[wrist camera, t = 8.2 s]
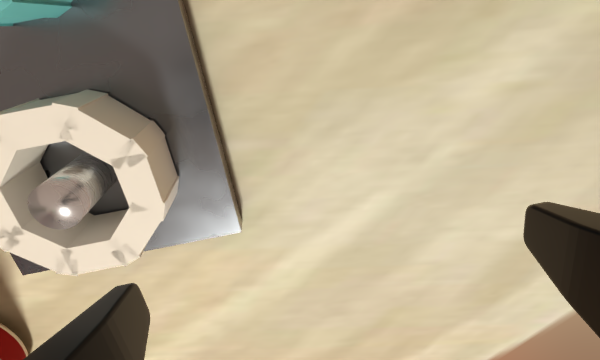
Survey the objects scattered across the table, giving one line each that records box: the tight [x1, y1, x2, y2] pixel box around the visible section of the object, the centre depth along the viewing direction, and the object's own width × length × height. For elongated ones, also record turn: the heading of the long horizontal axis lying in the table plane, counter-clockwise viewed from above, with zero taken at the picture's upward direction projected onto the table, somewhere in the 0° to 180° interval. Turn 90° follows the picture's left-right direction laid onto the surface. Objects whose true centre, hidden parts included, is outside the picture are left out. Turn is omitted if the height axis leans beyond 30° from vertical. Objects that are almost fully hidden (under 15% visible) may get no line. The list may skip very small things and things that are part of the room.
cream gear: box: [0, 89, 179, 276], centre depth 17 cm, size 8×8×3 cm
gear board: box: [0, 0, 242, 275], centre depth 14 cm, size 12×22×6 cm, turn 10°
